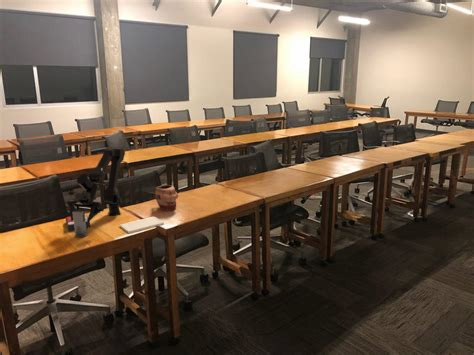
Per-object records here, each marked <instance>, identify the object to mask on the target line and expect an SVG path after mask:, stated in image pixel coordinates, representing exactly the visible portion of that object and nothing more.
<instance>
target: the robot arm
mask: <svg viewBox="0 0 474 355" xmlns="http://www.w3.org/2000/svg"><path fill="white" fill-rule="evenodd" d="M125 155H126V151H125V150H124V149H123V148H122V147H119V148H118V147H112V148H110V149H104V150H103V154H102V156H101V157H100V160H99V162H98V163H97V165H96V166H95V168H93V169H91V171H90V172H89V173H88V172H83V173H82V174H81V175H79V176H78V177H76V178H77V179H76V182H77V184H78V185H79V186H80V187H81V188H82V189H83V190H84V192H81V193H80V192H79V193H78V192H75V193H74V200H71V199H69V200H67V201H66V204H65V205H66V206H67V207H68V208H69V210H70V216H71V221H73V213H72V212H73V211H75V210H80V208H90V211H89V214H88V215H87V217H88V219H87V221H88V222H89V221H90V222H91V220H92V219H94V218H95V216H97V215H98V214H101V212H104V211H105V206H104V205H108V216H109V217H111V216H117V215H118V216H119V215H122V214H121V210H120V205H122V203H123V198H122V197H121V196H120V192H119V190H118V181H119V173H120V166H121V163H122V162H124V161H123V160H124V158H125ZM109 164H110V170H109V177H108V184H107V187H106V188H104V190H103V195H102V200H103V202H104V205H103V204H102V203H101V202H100V201H96V200H97V198H96V196H97V192H98V191H101V188H100V185H99V184H102V183H103V182H104V181H105V177H106V173H105V172H106V170H107V168H108V167H109ZM76 200H77V201H76Z"/></svg>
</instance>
